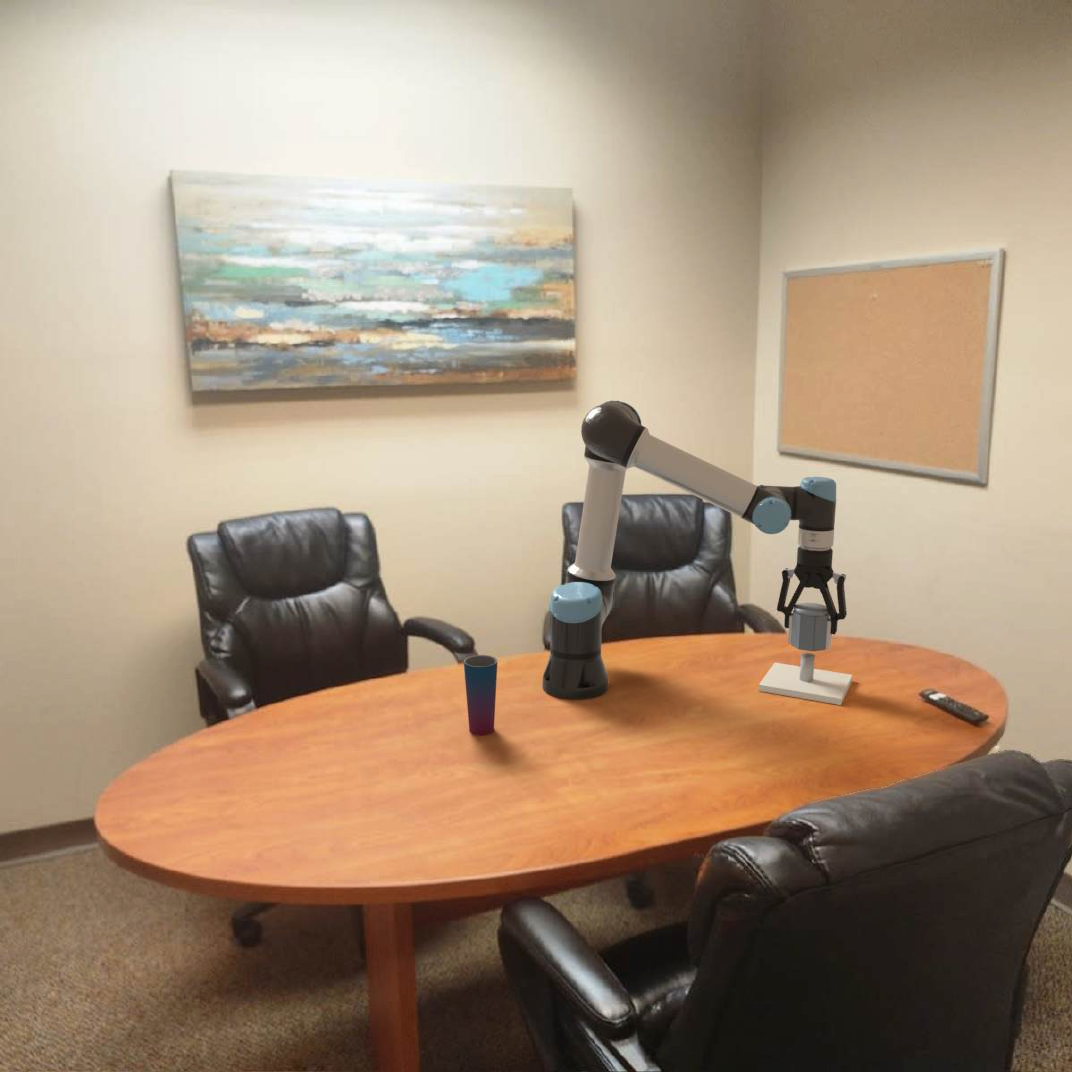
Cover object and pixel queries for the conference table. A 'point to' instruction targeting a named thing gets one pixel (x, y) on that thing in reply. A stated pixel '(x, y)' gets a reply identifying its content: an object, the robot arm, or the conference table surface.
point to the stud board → (806, 681)
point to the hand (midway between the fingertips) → (809, 644)
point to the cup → (481, 692)
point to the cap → (809, 626)
